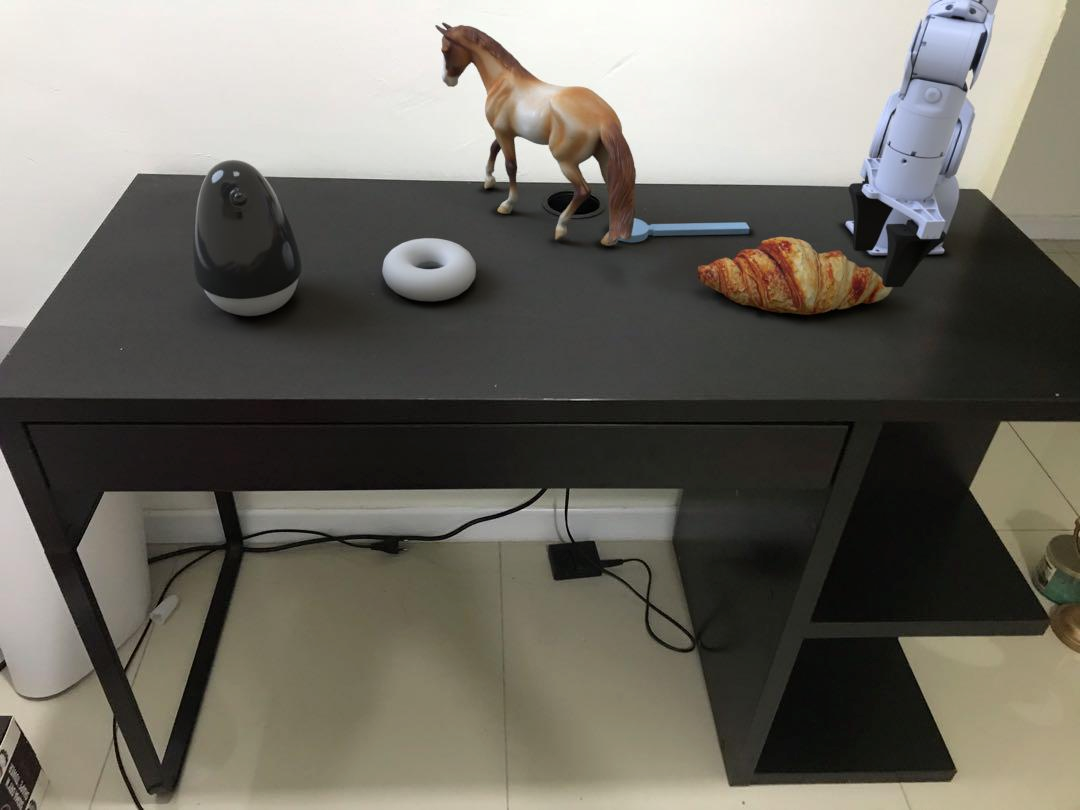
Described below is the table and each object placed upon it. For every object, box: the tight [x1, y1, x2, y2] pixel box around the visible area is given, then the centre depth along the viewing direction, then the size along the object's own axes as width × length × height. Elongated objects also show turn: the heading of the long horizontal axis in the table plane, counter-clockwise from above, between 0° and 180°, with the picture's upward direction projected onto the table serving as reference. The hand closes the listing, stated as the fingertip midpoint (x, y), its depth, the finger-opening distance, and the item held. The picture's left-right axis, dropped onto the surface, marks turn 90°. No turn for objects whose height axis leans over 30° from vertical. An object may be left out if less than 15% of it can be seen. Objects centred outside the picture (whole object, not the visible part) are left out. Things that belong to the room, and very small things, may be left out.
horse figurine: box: [435, 22, 637, 247], centre depth 103 cm, size 31×8×21 cm, turn 45°
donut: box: [381, 237, 477, 302], centre depth 97 cm, size 10×3×10 cm
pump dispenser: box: [192, 159, 303, 317], centre depth 89 cm, size 10×10×15 cm
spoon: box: [618, 217, 751, 244], centre depth 110 cm, size 17×5×1 cm, turn 98°
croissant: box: [696, 236, 893, 316], centre depth 98 cm, size 21×10×8 cm, turn 90°
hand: (877, 266), depth 98 cm, fingers open, 7 cm apart
